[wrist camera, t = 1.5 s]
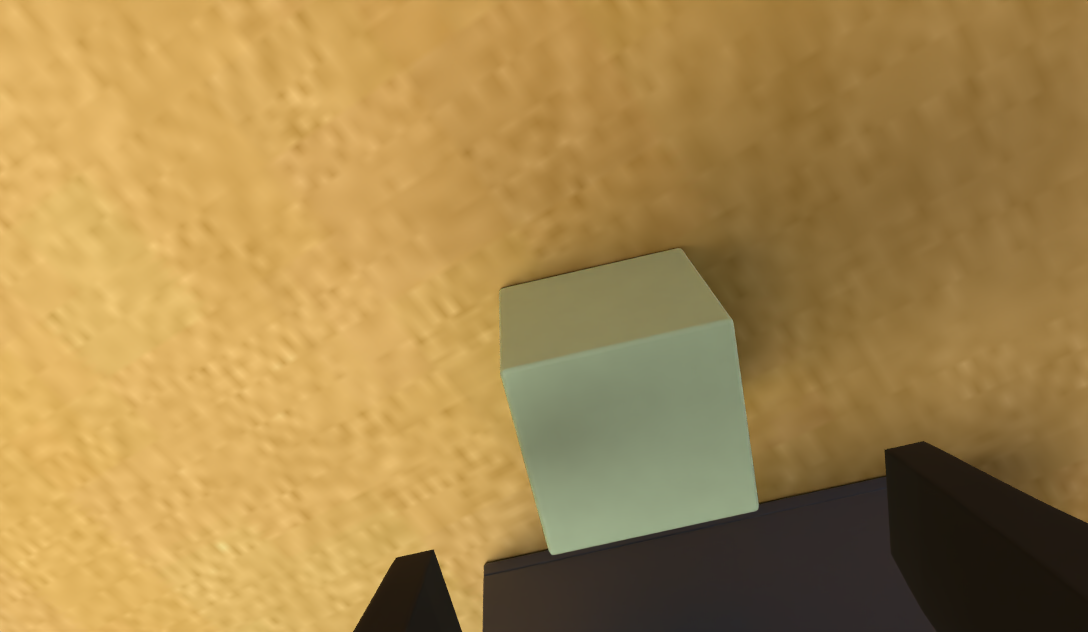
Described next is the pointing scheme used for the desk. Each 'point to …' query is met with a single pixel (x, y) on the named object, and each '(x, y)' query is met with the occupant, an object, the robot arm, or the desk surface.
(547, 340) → the block
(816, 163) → the desk surface
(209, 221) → the desk surface
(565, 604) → the carton
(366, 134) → the desk surface
